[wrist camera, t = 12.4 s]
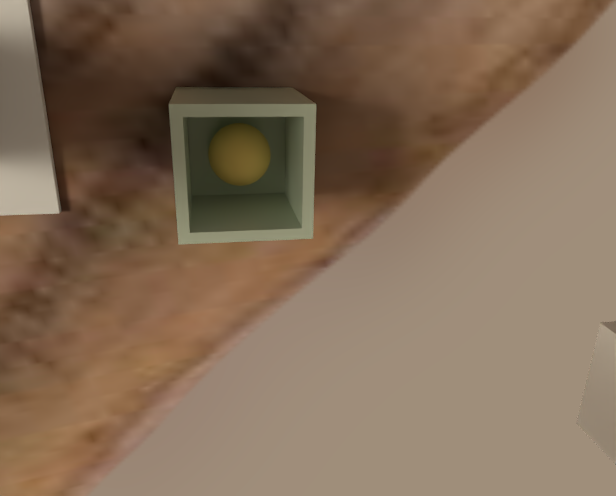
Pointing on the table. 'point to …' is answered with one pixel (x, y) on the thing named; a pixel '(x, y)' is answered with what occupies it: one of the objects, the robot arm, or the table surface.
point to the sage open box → (254, 197)
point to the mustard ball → (239, 154)
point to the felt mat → (23, 119)
